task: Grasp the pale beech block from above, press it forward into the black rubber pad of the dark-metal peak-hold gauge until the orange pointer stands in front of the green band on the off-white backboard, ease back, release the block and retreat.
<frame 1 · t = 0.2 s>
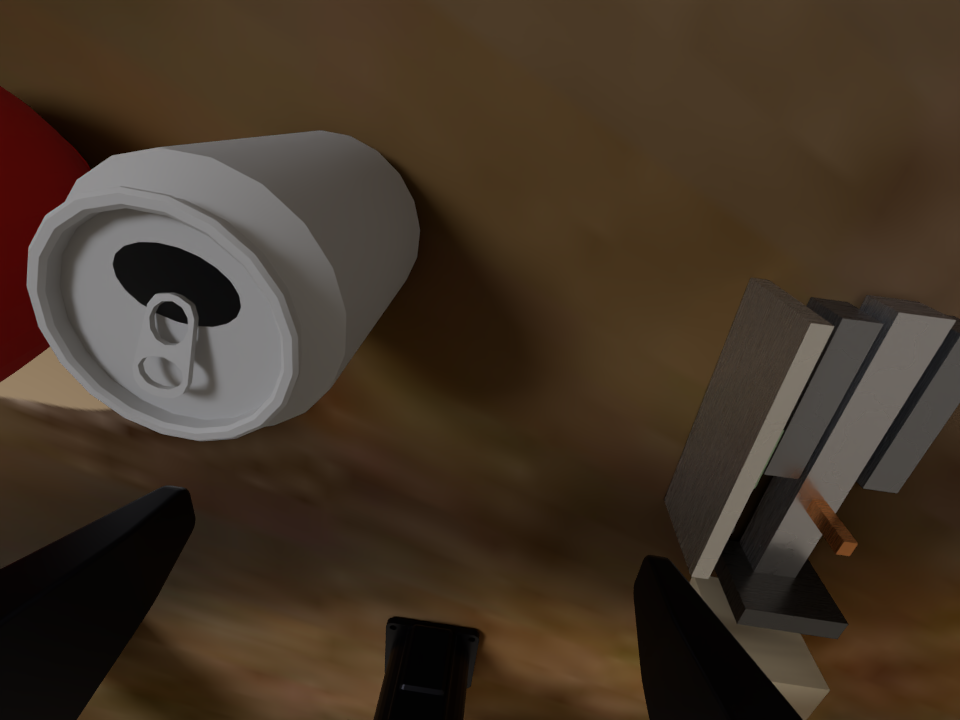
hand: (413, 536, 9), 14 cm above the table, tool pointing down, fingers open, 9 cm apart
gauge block: (720, 605, 31), on the table
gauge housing: (826, 411, 24), on the table
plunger: (836, 480, 22), point 3 cm above the table, slide at 0.0 cm
can: (342, 222, 22), on the table
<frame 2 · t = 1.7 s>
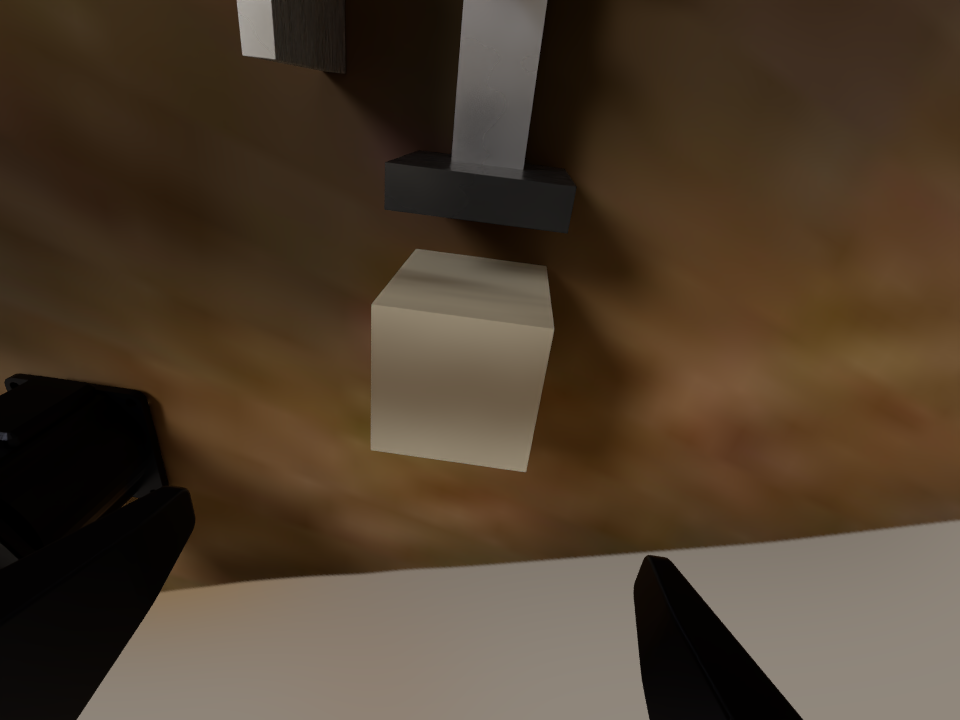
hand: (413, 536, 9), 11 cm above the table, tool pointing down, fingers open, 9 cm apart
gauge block: (474, 317, 20), on the table
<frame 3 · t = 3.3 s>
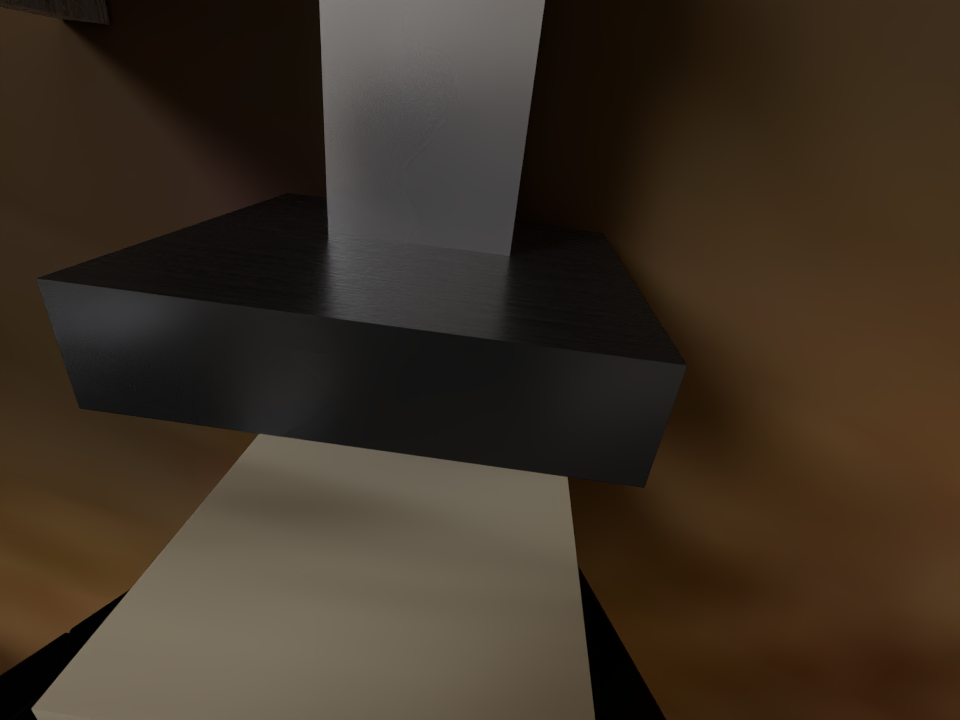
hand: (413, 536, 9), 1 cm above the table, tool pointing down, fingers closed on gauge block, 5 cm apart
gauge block: (425, 488, 11), on the table, touching gripper
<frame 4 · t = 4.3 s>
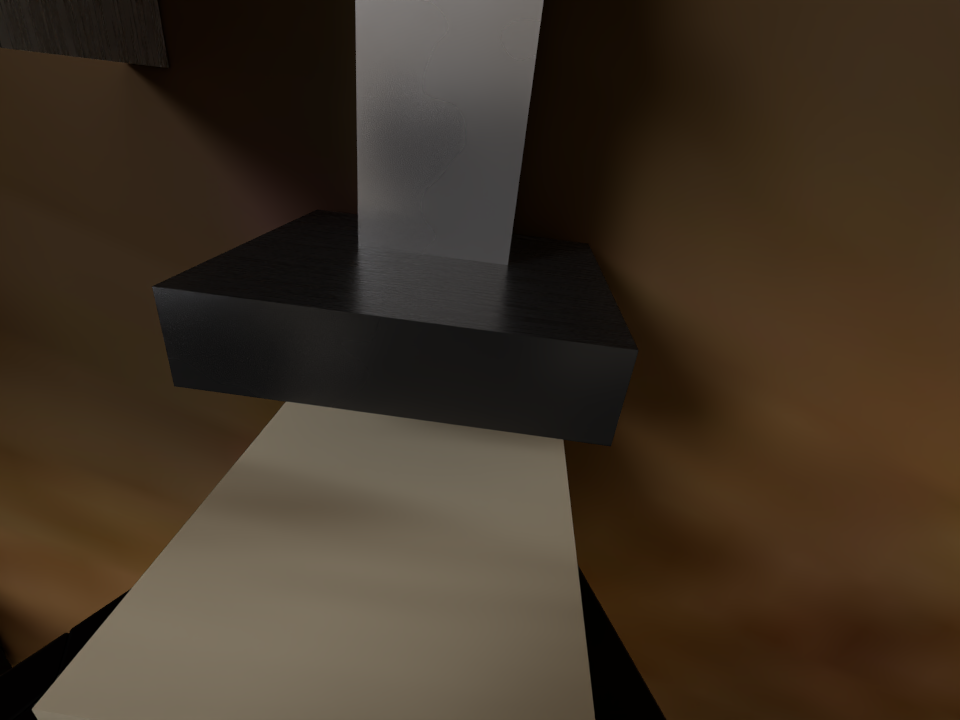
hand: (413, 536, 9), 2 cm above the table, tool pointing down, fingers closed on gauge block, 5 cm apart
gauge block: (425, 489, 11), point 1 cm above the table, touching gripper
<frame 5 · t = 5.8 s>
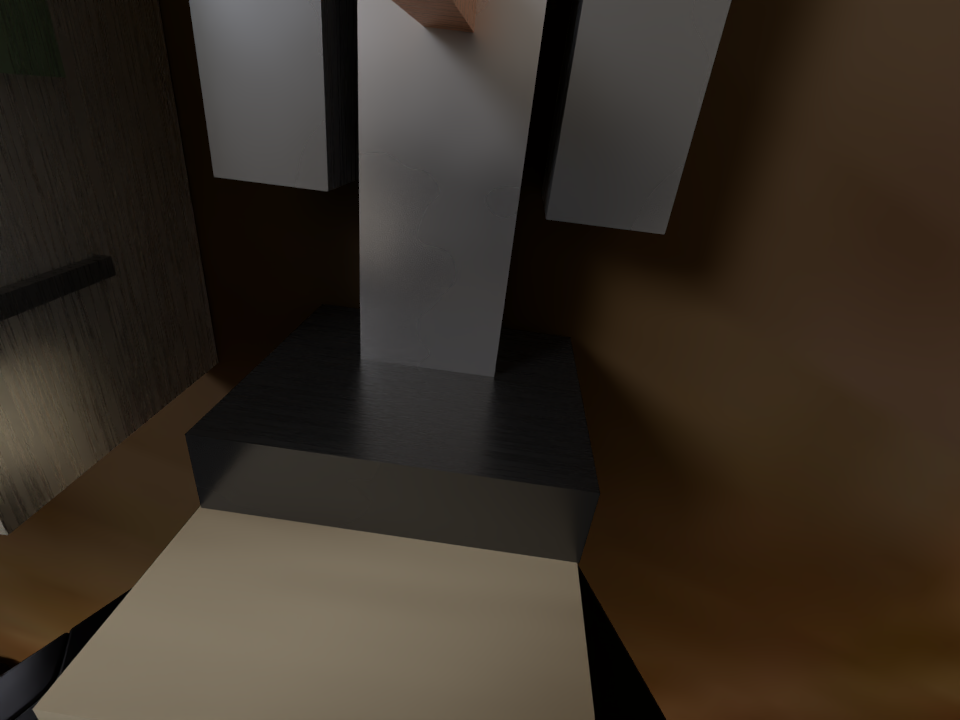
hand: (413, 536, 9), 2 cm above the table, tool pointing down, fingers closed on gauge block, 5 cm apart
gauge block: (426, 489, 11), point 1 cm above the table, touching gripper, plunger
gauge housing: (472, 13, 8), on the table
when the fingers open (2 cm above the table, at t = 6.9 s): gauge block drops 1 cm, on the table.
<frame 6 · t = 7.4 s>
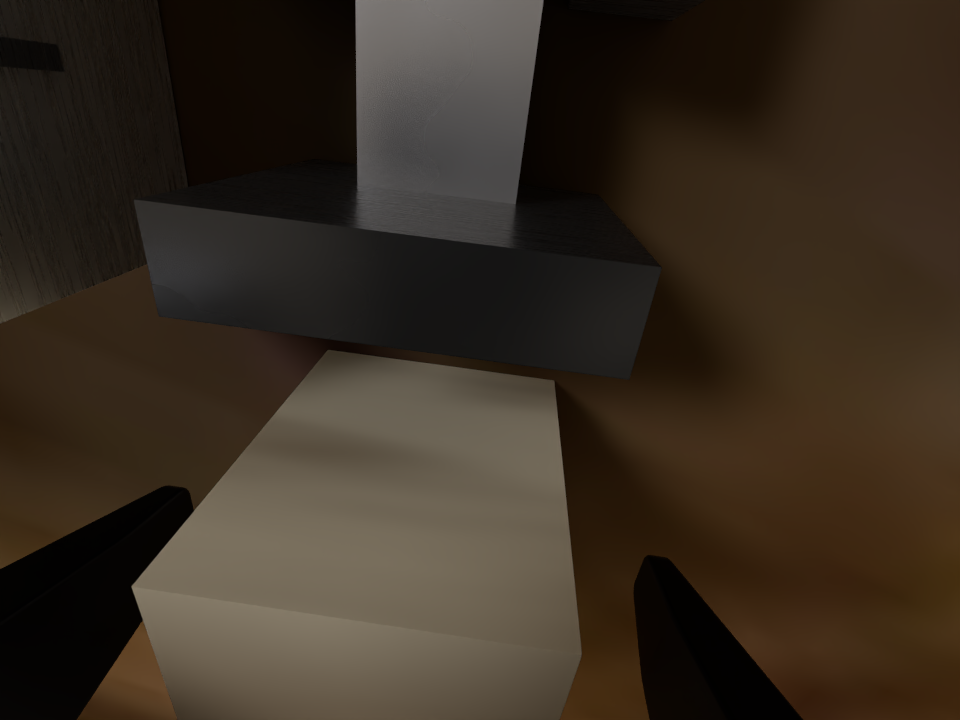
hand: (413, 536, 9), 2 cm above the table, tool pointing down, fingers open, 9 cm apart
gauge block: (433, 454, 12), on the table
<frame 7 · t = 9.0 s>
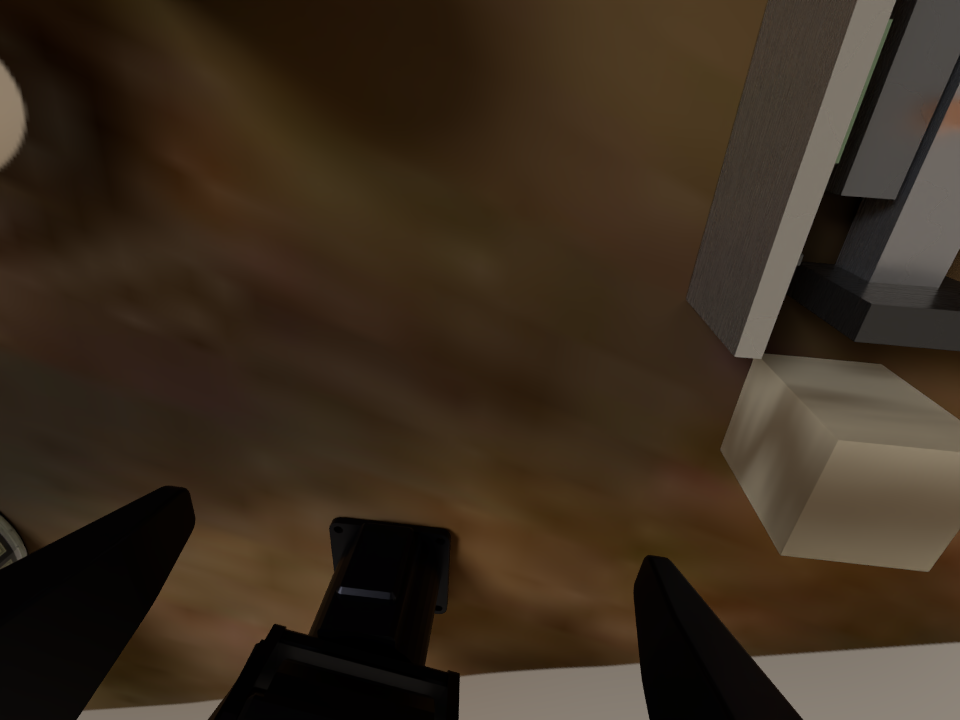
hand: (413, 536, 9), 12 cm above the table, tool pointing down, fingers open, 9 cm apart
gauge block: (795, 408, 21), on the table
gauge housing: (928, 110, 15), on the table
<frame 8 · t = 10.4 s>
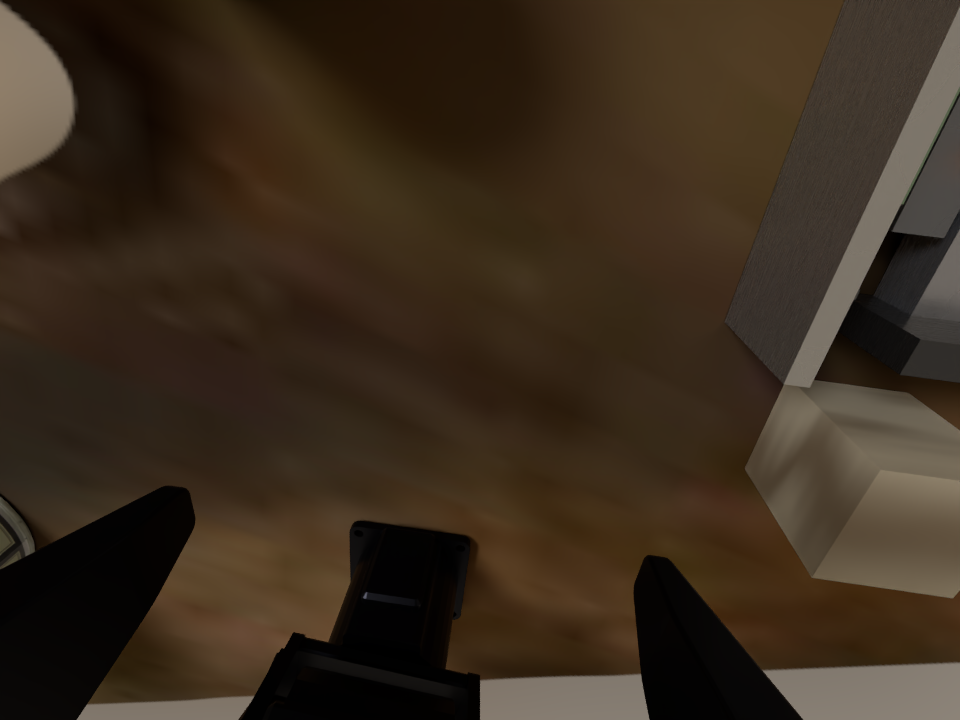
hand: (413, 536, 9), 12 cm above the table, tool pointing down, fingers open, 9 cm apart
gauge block: (821, 432, 21), on the table
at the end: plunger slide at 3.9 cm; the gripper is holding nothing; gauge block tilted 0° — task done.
